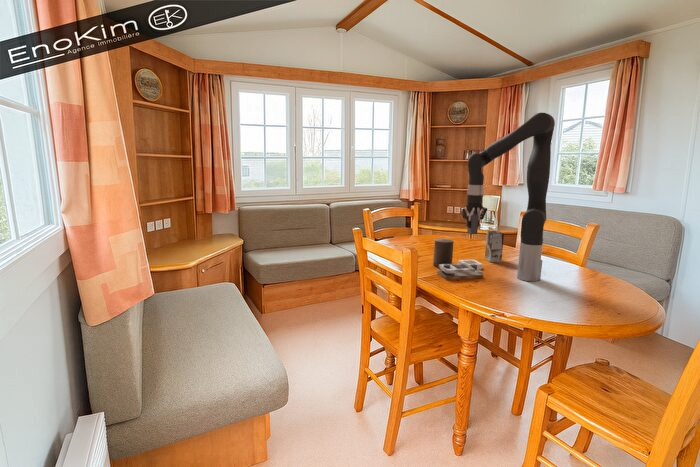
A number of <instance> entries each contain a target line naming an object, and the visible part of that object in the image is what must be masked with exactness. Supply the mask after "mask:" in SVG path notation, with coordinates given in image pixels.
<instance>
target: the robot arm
mask: <svg viewBox="0 0 700 467" xmlns="http://www.w3.org/2000/svg"><path fill="white" fill-rule="evenodd" d="M555 121H556V120H555V119H554V117H553V116H552V114H550V113H547V112H538V113H535V114H533V116H531V117H530V118H528V120H526V121H525V122H524V123H523V124H521V125H520V126H518V127H517V128H516V129H515V130H513V131H511V132H510V133H508V134H506V135H504V136H502V137H500V138H499V139H498V140H496V141H494V142H492V143H490V144H489V145H488V146H487V147H486V148H485V149H484V150H482V151H481V152H473V153H472V154H470V155H469V157H468V159H467V169H468V170H467V171H468V186H467V191H466V193H467V194H466V205H465V207H461V208H460V213H461V215H462V218H463V220H466V223H465V224H466V225H465V226H466V227H467V229H468V228H470V226H471V221H470V220H471V216H472V215H473V214H477V215H479V217H478V228H479V227H480V221H481V220H484V219H485V216H486V213H487V211H488V208H487V207H484V206H483V201H484V180H485V176H484V173H483V170H482V169H483V167H485V166H486V165H488V164H490V163H491V162H493V161H494V160H495V159H497V158H499V157H501V156H503V155H505V154H506V153H509V151H511V150H512V149H514V148H515V147H516V146H518V145H519V144H520V143H522V142H524V141H526V140H528V139H530V138H532V137H533V141H532V143H533V144H532V150H531V153H530V155H529V159H528V163H527V169H526V187H527V194H528V195H527V196H528V201H527V207H526V212H524V213H523V215H522V218H521V222H520V223H521V226H520V246H519V255H518V264H517V272H516V273H517V274H516V277H517V278H516V279H519V280H521V281H524V282H525V281H526V282H537V281H539V280H540V281H541V277H542V269H543V260H542V254H543V253H542V251H543V243H544V228H545V227H544V226H545V223H546V222H547V204H546V202H547V193H548V190H549V188H548V187H549V182H550V176H551V175H550V174H551V161H552V160H551V157H552V156H551V155H552V154H551V153H552V151H551V150H552V141H553V140H552V139H553V135H554V130H555V125H556V124H555V123H556V122H555Z"/></svg>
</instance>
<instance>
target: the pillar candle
mask: <svg viewBox="0 0 700 467" xmlns="http://www.w3.org/2000/svg"><path fill="white" fill-rule="evenodd" d="M454 243H455V242H454V240H453V239H451V238H450V239H449V238H435V239H434V246H433V247H434V248H433V260H432V261H433V262H432V264H433V266H434V267H436V268H439V267H438V266H439V264H453V254H454Z"/></svg>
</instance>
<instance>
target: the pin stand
mask: <svg viewBox="0 0 700 467" xmlns="http://www.w3.org/2000/svg"><path fill="white" fill-rule="evenodd" d="M457 260H458V262H457V264H459V263H466V264H467V265H469V266H471V264H476V265H477V269H479V270H482V269H483V263H481V262H479V261H478V260H476V259H457Z"/></svg>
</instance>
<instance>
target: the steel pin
mask: <svg viewBox="0 0 700 467" xmlns="http://www.w3.org/2000/svg"><path fill="white" fill-rule="evenodd" d="M478 217H479V215H477V214H473V215H472V216H471V220H470V221H471V226H470V228H468V227H467V232H466V233H467V234H469V235H478V230H479V229H478V228H479V227H478Z"/></svg>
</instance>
